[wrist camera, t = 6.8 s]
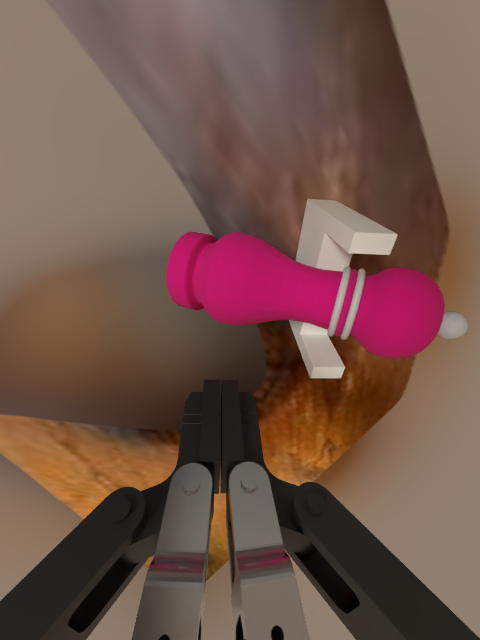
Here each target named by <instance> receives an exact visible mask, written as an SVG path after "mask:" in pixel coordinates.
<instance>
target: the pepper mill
mask: <svg viewBox="0 0 480 640" xmlns="http://www.w3.org/2000/svg"><path fill="white" fill-rule="evenodd" d="M365 275H366V272H365V270H364V269H359V270H358V272H357V270H356V269H351V268H350V267H349V266H346V267H345V268H344V271H333V270H323V269H319V268H315V267H311V266H307V265H304V264H302V263H299V262H297V261H295V260H292V259H291V258H289V257H288V256H286V255H284V254H283V253H281V252H280V251H278V250H277V249H275V248H274V247H272V246H271V245H269V244H268V243H267V242H265V241H263V240H261V239H259V238H257V237H254V236H251V235H247V234H243V233H239V232H234V233H230V234H227V235H225V236H223V237H222V238H220V239H219V240H218V241H217V239H216V238H215V237H214V236H212V235H209V234H203V233H197V232H189V233H186V234H184V235H183V236H182V237H181V238H180V239H179V240H178V241H177V242H176V244H175V245H174V247H173V249H172V251H171V254H170V257H169V260H168V266H167V287H168V291H169V294H170V296H171V298H172V300H173V301H174V302H175V303H176V304H177V305H179V306H182V307H186V308H190V309H194V310H201V309H203V308H205V309H206V311H207V312H208V313H209V315H210V316H211V317H212V318H213V319H214V320H216V321H217V322H220V323H224V324H229V325H250V324H256V323H262V322H268V321H275V320H294V321H299V322H305V323H310V324H312V325H315V326H318V327H321V328H324V329H327V330H328V332H327V334H328V336H333V335H335V336H340V337H341V339H343V340H345V339H347V338H348V336H349V335H350V336H352V337H354V338H355V339H357V340H358V342H359V343H360V344H361V345H362V346H363V347H364V348H365V349H366V350H367V351H368V352H370V353H371V354H374V355H377V356H380V357H385V358H405V357H410V356H413V355H415V354H417V353H419V352H421V351H422V350H424V349H425V348H426V347H427V346H428V345H429V344H430V343H431V342H432V341H433V340H434V338H435V337H436V335H438V336H440V337H442V338H444V339H450V340H451V339H457V338H460V337H462V336H463V335H464V334H465V333H466V331H467V329H468V322H467V319H466V318H465V317H464V316H463V315H462V314H460V313H457V312H453V311H452V312H451V311H447V312H444V299H443V295H442V293H441V291H440V289H439V287H438V285H437V284H436V283H435V282H434V281H433V280H432V279H431V278H430V277H429V276H427V275H425V274H423V273H421V272H419V271H416V270H413V269H408V268H401V267H394V268H389V269H386V270H384V271H381V272H379V273H377V274H375V275H369V276H365Z"/></svg>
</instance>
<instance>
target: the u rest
mask: <svg viewBox="0 0 480 640" xmlns="http://www.w3.org/2000/svg"><path fill="white" fill-rule="evenodd" d="M397 235H398V234H396V233H394V232H393V231H391V230H389V229H387V228H385V227H383V226H382V225H380V224H378V223H376V222H374V221H372V220H371V219H369V218H367V217H365V216H363V215H361V214H360V213H358V212H356V211H354V210H352V209H350V208H349V207H347V206H345V205H343V204H341V203H339V202H337V201H334V200H318V199H307V204H306V209H305V214H304V219H303V225H302V230H301V235H300V240H299V245H298V250H297V256H296V261H297V262H299V263H302V264H304V265H307V266H311V267H315V268H319V269H323V270H333V271H344V268H345V267H346V266H349V264H350V260H351V257H352V254H353V253H355V254H377V255H390V253H391V250H392V248H393V245H394V243H395V240H396V238H397ZM289 322H290V325H291V328H292V330H293V333H294V336H295V338H296V341H297V344H298V346H299V349H300V352H301V354H302V357H303V360H304V362H305V365H306V368H307V370H308V373H309V376H310V378H341V377H342V374H343V372H344V369H345V366H344V364H343V362H342V360H341V359H340V357H339V355H338V353H337V351H336V349H335V348H334V346H333V344H332V342H331V340H330V338H329V337H328V335H327V332H328V330H327V329H324V328H321V327H318V326H315V325H312V324H310V323H305V322H299V321H294V320H289Z"/></svg>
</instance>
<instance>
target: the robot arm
mask: <svg viewBox="0 0 480 640" xmlns="http://www.w3.org/2000/svg"><path fill="white" fill-rule="evenodd" d="M220 461H221V493H226V526H227V538H228V551H229V564H230V576H231V598H232V617H233V630H234V640H310V639H309V634H308V630H307V626H306V621H305V617H304V612H303V608H302V603H301V599H300V595H299V590H298V586H297V581H296V577H295V573H294V570H293V566H292V563H291V560H290V558H289V556H288V554H289V555H290V556H291V558H292V559H293V560H294V561H295V563H296V564H297V565H298V567H299V568H300V569H301V570H302V572H303V573H304V574H305V575H306V576H307V578H308V579H309V581H310V582H311V583H312V584H313V586H314V587H315V588H316V589H317V591H318V592H319V593H320V594H321V596H322V597H323V598H324V600H325V601H326V602H327V603H328V605H329V606H330V607H331V608H332V610H333V611H334V612H335V613H336V615H337V616H338V617H339V619H340V620H341V621H342V622H343V624H344V625H345V626H346V628H347V629H348V630H349V631H350V633H351V634H352V635H353V636H354V638H355V639H356V640H480V638H479V637H477V636H476V635H475V634H474V633H473V632H472V631H471V630H470V629H469V628H468V627H467V626H466V625H465V624H464V623H463V622H462V621H461V620H460V619H459V618H458V617H457V616H456V615H455V614H454V613H453V612H452V611H451V610H450V609H449V608H448V607H447V606H446V605H445V604H444V603H443V602H442V601H441V600H439V599H438V597H437V596H435V595H434V594H433V593H432V592H431V591H430V590H429V589H428V588H427V587H426V586H425V585H424V584H423V583H422V582H421V581H420V580H419V579H418V578H417V577H416V576H415V575H414V574H413V573H412V572H411V571H410V570H409V569H408V568H407V567H406V566H405V565H404V564H403V563H402V562H401V561H400V560H399V559H398V558H397V557H396V556H395V555H393V554H392V553H391V552H390V551H389V550H388V549H387V548H386V547H385V546H384V545H383V544H382V543H381V542H380V541H379V540H378V539H377V538H376V537H375V536H374V535H373V534H372V533H371V532H370V531H369V530H368V529H367V528H366V527H365V526H364V525H363V524H362V523H361V522H360V521H358V519H356V518H355V516H353V515H352V514H351V513H350V512H349V511H348V510H347V509H346V508H345V507H344V506H343V505H342V504H341V503H340V502H339V501H338V500H337V499H336V498H335V497H334V496H333V495H332V494H331V493H330V492H329V491H328V490H327V489H326V488H324V487H323V486H321V485H320V484H317V483H314V482H306V483H303V484H301V485H300V486H296V485H293V484H290V483H288V482H285V481H282V480H279V479H278V478H276V477H275V476H273V475H272V474H271V473H270V472H269V470H268V469H267V467H266V465H265V463H264V459H263V452H262V445H261V437H260V430H259V424H258V415H257V408H256V401H255V400H254V398H253V396H252V395H251V393H250V392H239V386H238V380H222V385H221V442H220V380H204V390H203V392H191V394H190V396H189V397H188V399H187V400H186V402H185V409H184V417H183V425H182V432H181V440H180V447H179V455H178V461H177V465H176V468H175V470H174V471H173V473H172V474H171V475H170V477H169V478H168V479H166V480H165V481H164V482H162V483H160V484H158V485H156V486H153V487H151V488H148V489H146V490H143V491H139V490H138V489H136V488H133V487H123V488H120V489H118V490H116V491H114V492H112V493H111V494H110V495H109V496H107V497H106V498H105V499H104V500H103V501H102V502H101V503H100V504H99V505H98V506H97V507H96V508H95V509H94V510H93V511H92V512H91V513H90V514H89V515H88V516H87V517H86V518H85V519H84V520H83V521H82V522H81V523H80V524H79V525H78V526H77V527H76V528H75V529H74V530H73V531H72V532H71V533H70V534H69V535H68V536H66V537H65V538H64V539H63V540H62V542H60V544H58V545H57V546H56V547H55V548H54V549H53V550H52V551H51V552H50V553H49V554H48V555H47V556H46V557H45V558H44V559H43V560H42V561H41V562H40V563H39V564H38V565H37V566H36V567H35V568H34V569H33V570H32V571H31V572H30V573H29V574H28V575H27V576H26V577H25V578H24V579H22V580H21V581H20V582H19V584H17V585H16V586H15V587H14V588H13V589H12V590H11V591H10V592H9V593H8V594H7V595H6V596H5V597H4V598H3V599H2V600H1V601H0V640H86V639H87V638H88V636H89V635H90V634H91V632H92V631H93V630H94V629H95V627H96V626H97V625H98V623H99V622H100V621H101V619H102V618H103V617H104V615H105V614H106V613H107V611H108V610H109V609H110V608H111V606H112V605H113V604H114V602H115V601H116V600H117V598H118V597H119V596H120V594H121V593H122V592H123V591H124V589H125V588H126V587H127V585H128V584H129V582H130V581H131V580H132V579H133V577H134V576H135V575H136V574H137V572H138V571H139V569H140V568H141V567H142V566H143V564H144V563H145V562H146V560H147V559H148V558H149V557H151V556H153V555H154V558H153V561H152V562H151V564H150V566H149V569H148V572H147V575H146V579H145V583H144V587H143V592H142V596H141V601H140V605H139V609H138V614H137V618H136V623H135V627H134V632H133V637H132V640H202V629H203V617H204V605H205V590H206V577H207V566H208V554H209V543H210V531H211V521H212V518H213V512H214V494H217V493H219V481H220ZM284 548H285V549H284ZM285 550H286V551H287V553H288V554H287V553H286V552H285Z"/></svg>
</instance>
